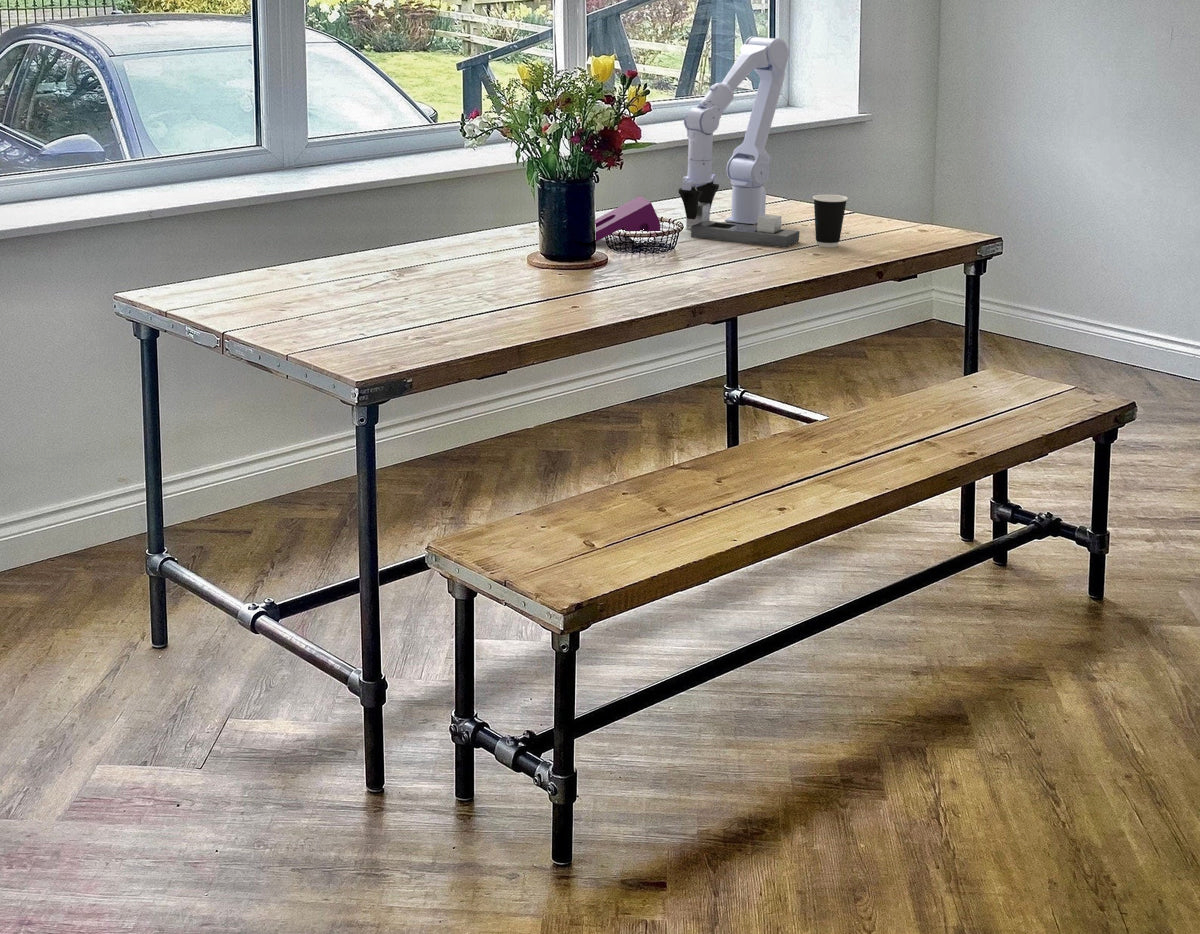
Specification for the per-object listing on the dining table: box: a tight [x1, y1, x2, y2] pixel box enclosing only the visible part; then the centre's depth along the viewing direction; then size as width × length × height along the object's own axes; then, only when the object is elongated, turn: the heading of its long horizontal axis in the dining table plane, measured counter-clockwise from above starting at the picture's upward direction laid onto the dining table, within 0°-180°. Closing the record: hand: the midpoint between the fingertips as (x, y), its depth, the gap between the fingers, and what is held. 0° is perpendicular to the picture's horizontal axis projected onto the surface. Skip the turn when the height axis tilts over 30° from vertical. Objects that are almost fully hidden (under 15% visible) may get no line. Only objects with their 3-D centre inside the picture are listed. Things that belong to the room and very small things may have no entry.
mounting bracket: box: [594, 195, 661, 242], centre depth 333 cm, size 9×8×18 cm
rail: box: [690, 220, 800, 248], centre depth 336 cm, size 8×24×3 cm, turn 61°
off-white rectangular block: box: [756, 213, 782, 234], centre depth 332 cm, size 4×4×6 cm
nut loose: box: [685, 202, 711, 231], centre depth 347 cm, size 4×4×6 cm
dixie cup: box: [812, 194, 849, 248], centre depth 329 cm, size 8×8×11 cm
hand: (697, 216), depth 347 cm, fingers open, 7 cm apart
